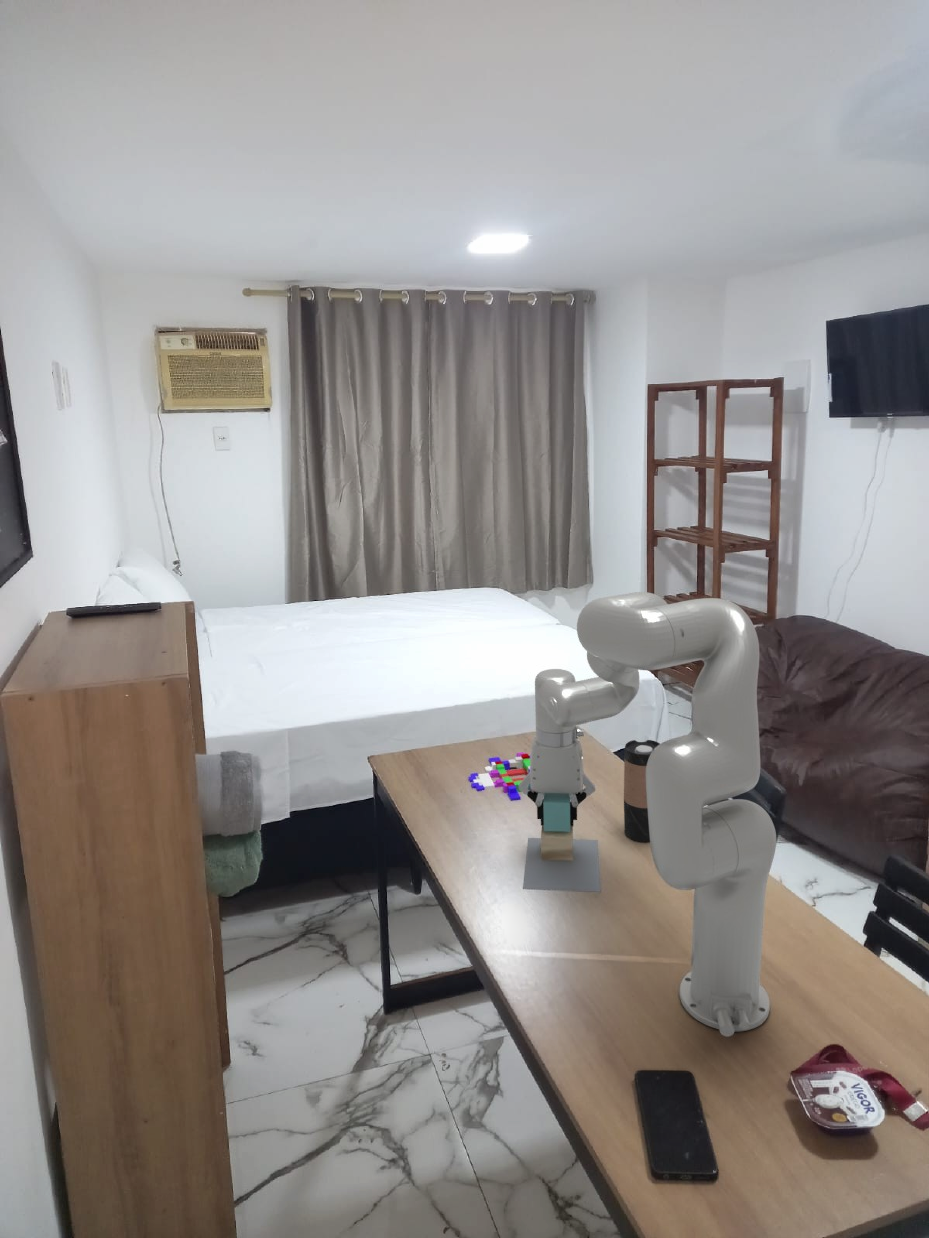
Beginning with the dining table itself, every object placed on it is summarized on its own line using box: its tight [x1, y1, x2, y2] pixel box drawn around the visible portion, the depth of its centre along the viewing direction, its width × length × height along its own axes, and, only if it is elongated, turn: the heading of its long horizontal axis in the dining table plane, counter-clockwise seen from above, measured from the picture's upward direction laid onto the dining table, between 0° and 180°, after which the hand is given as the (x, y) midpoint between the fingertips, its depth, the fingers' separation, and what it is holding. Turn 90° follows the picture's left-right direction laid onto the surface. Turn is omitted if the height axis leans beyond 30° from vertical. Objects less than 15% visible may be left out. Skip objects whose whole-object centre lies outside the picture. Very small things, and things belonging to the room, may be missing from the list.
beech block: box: [540, 825, 574, 861], centre depth 158 cm, size 6×6×5 cm
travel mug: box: [623, 739, 661, 844], centre depth 161 cm, size 8×8×20 cm
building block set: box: [467, 752, 544, 802], centre depth 191 cm, size 25×20×4 cm
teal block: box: [543, 793, 571, 832], centre depth 156 cm, size 5×5×6 cm
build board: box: [522, 837, 602, 893], centre depth 154 cm, size 18×14×1 cm
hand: (557, 821), depth 156 cm, fingers closed on teal block, 4 cm apart
